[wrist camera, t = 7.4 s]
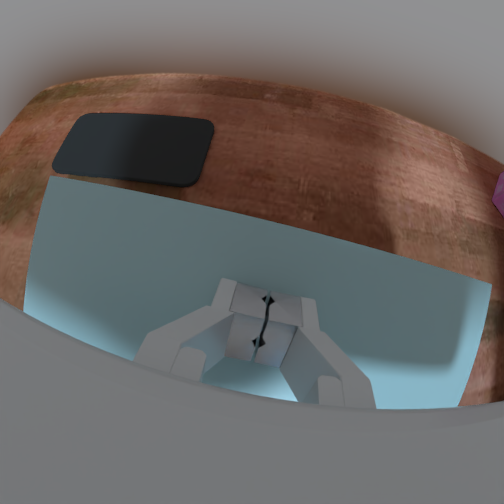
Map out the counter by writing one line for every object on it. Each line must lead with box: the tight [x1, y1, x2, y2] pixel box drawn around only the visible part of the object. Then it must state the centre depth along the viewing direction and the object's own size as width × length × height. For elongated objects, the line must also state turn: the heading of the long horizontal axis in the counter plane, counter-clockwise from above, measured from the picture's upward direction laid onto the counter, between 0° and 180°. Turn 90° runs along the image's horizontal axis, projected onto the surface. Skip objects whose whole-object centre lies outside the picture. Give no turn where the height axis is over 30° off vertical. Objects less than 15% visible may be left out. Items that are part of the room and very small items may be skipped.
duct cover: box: [23, 176, 492, 409], centre depth 10 cm, size 21×11×1 cm, turn 77°
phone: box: [52, 113, 214, 187], centre depth 23 cm, size 7×1×15 cm
